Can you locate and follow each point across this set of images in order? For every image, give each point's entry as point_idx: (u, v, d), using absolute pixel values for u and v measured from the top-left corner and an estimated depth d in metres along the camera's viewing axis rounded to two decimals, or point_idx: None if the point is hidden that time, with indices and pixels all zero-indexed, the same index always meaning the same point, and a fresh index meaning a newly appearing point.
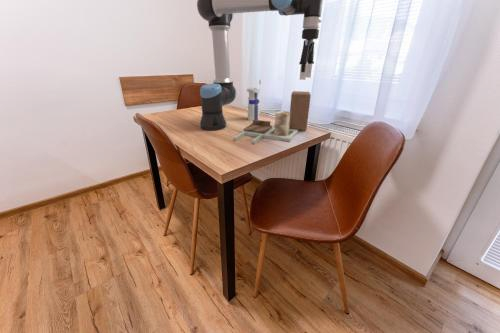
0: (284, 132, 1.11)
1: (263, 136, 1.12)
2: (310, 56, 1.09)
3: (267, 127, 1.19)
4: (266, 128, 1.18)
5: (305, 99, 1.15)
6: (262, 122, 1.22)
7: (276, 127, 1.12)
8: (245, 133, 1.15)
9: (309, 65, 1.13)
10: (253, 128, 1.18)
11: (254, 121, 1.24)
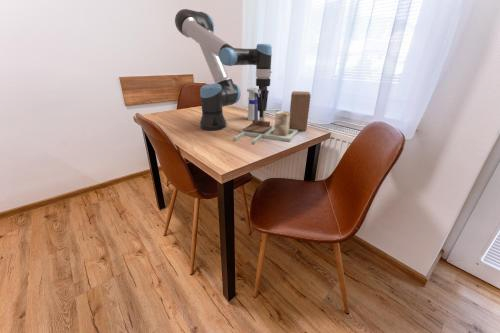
0: (284, 132, 1.11)
1: (263, 136, 1.12)
2: None
3: (267, 127, 1.19)
4: (266, 128, 1.17)
5: (305, 99, 1.15)
6: (262, 122, 1.21)
7: (276, 127, 1.12)
8: (245, 133, 1.15)
9: None
10: (252, 128, 1.17)
11: (254, 121, 1.23)
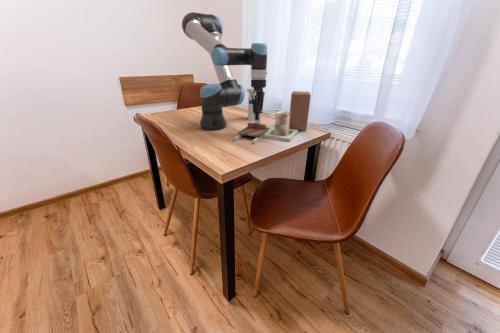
0: (284, 132, 1.11)
1: (263, 136, 1.12)
2: None
3: (262, 131, 1.14)
4: (261, 132, 1.12)
5: (305, 99, 1.15)
6: (257, 125, 1.16)
7: (276, 127, 1.12)
8: None
9: None
10: (248, 132, 1.12)
11: (249, 124, 1.18)
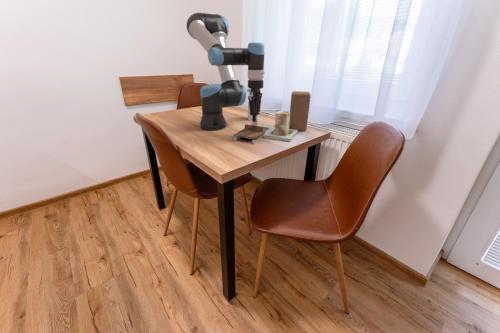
0: (284, 132, 1.11)
1: (263, 136, 1.12)
2: None
3: (260, 133, 1.11)
4: (258, 134, 1.09)
5: (305, 99, 1.15)
6: (254, 127, 1.13)
7: (276, 127, 1.12)
8: None
9: None
10: (244, 134, 1.09)
11: (246, 126, 1.15)
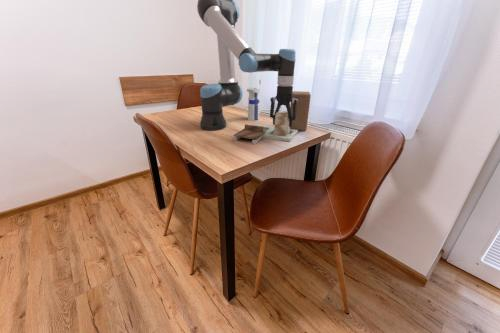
0: (284, 132, 1.11)
1: (263, 136, 1.12)
2: None
3: (260, 133, 1.10)
4: (258, 134, 1.09)
5: (305, 99, 1.15)
6: (254, 127, 1.13)
7: (276, 127, 1.12)
8: None
9: None
10: (244, 134, 1.09)
11: (246, 126, 1.15)
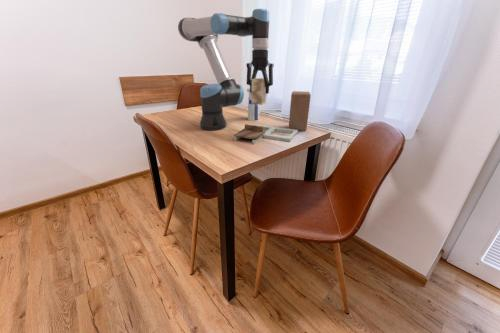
0: (261, 99, 1.10)
1: (263, 136, 1.12)
2: None
3: (260, 133, 1.10)
4: (258, 134, 1.09)
5: (305, 99, 1.15)
6: (254, 127, 1.13)
7: (253, 94, 1.10)
8: None
9: None
10: (244, 134, 1.09)
11: (246, 126, 1.15)
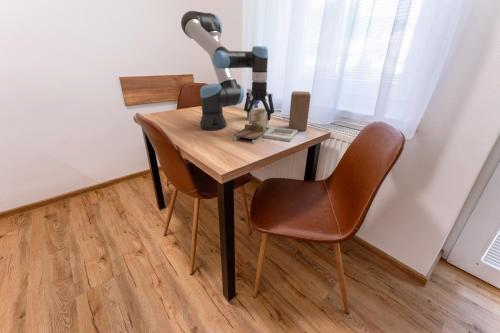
0: None
1: (263, 136, 1.12)
2: None
3: (260, 133, 1.10)
4: (258, 134, 1.09)
5: (305, 99, 1.15)
6: (254, 127, 1.13)
7: (252, 123, 1.17)
8: None
9: None
10: (244, 134, 1.09)
11: (246, 126, 1.15)
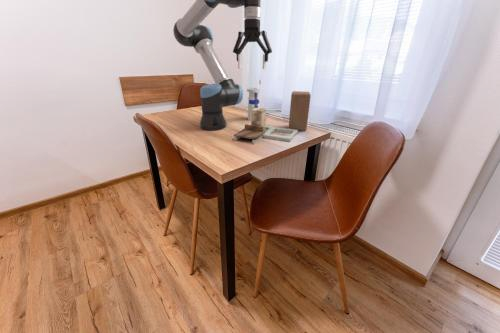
0: None
1: (263, 136, 1.12)
2: None
3: (260, 133, 1.10)
4: (258, 134, 1.09)
5: (305, 99, 1.15)
6: (254, 127, 1.13)
7: (252, 123, 1.17)
8: None
9: None
10: (244, 134, 1.09)
11: (246, 126, 1.15)
